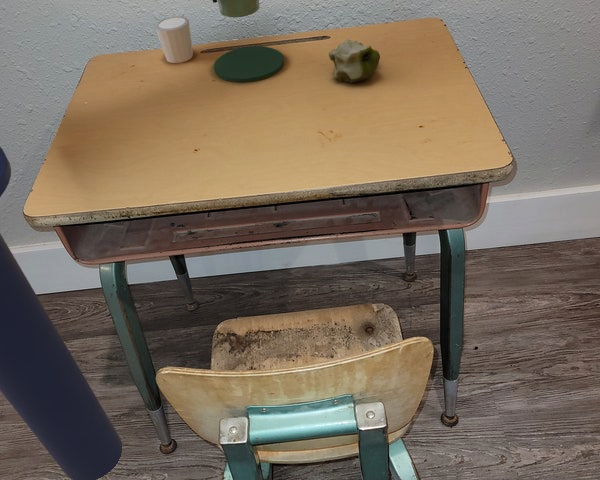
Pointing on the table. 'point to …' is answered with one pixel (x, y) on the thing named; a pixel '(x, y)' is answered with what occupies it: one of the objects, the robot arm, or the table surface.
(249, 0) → the green cup
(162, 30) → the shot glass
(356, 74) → the grey and green rock
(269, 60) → the green mat
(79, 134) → the table surface
